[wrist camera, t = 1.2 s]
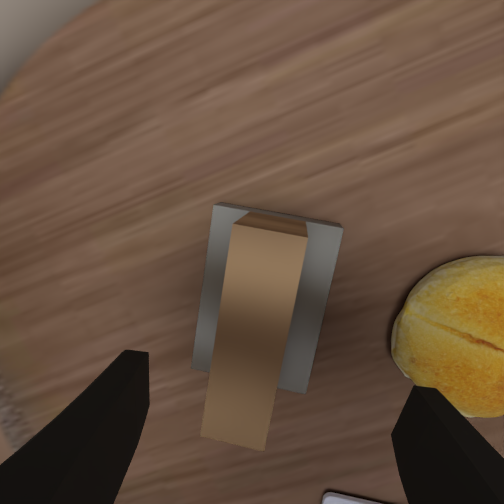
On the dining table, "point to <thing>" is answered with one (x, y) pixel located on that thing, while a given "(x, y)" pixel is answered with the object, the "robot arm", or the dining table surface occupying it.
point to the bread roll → (456, 334)
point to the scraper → (259, 315)
